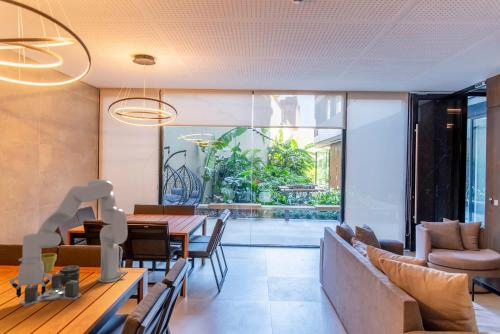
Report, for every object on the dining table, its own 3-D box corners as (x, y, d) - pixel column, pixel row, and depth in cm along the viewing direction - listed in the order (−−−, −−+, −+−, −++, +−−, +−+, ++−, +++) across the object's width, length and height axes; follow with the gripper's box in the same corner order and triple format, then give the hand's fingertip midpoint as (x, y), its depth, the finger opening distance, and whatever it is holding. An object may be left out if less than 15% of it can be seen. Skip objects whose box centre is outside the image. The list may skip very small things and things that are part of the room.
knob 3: (64, 296, 159) (65, 282, 159) (70, 292, 164) (71, 279, 164) (73, 296, 159) (73, 282, 159) (79, 293, 163) (79, 279, 163)
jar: (76, 283, 179) (76, 270, 179) (56, 285, 177) (57, 271, 177) (81, 277, 189) (81, 264, 189) (62, 278, 186) (62, 265, 186)
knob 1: (27, 298, 156) (27, 284, 156) (37, 297, 157) (37, 283, 157) (24, 302, 151) (24, 287, 151) (35, 301, 153) (35, 286, 153)
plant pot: (49, 274, 193) (49, 258, 193) (32, 273, 194) (32, 257, 194) (59, 268, 204) (60, 253, 204) (43, 268, 204) (44, 252, 204)
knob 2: (60, 287, 170) (61, 274, 170) (51, 288, 169) (51, 275, 169) (62, 284, 175) (62, 271, 175) (52, 285, 173) (52, 272, 173)
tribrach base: (84, 283, 180) (84, 278, 180) (80, 299, 159) (80, 293, 159) (29, 289, 170) (29, 284, 170) (18, 307, 149) (18, 301, 149)
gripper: (7, 263, 147) (7, 300, 147) (51, 260, 154) (50, 295, 154) (12, 259, 154) (11, 294, 154) (54, 256, 161) (53, 289, 161)
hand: (31, 295), depth 154 cm, fingers open, 9 cm apart
